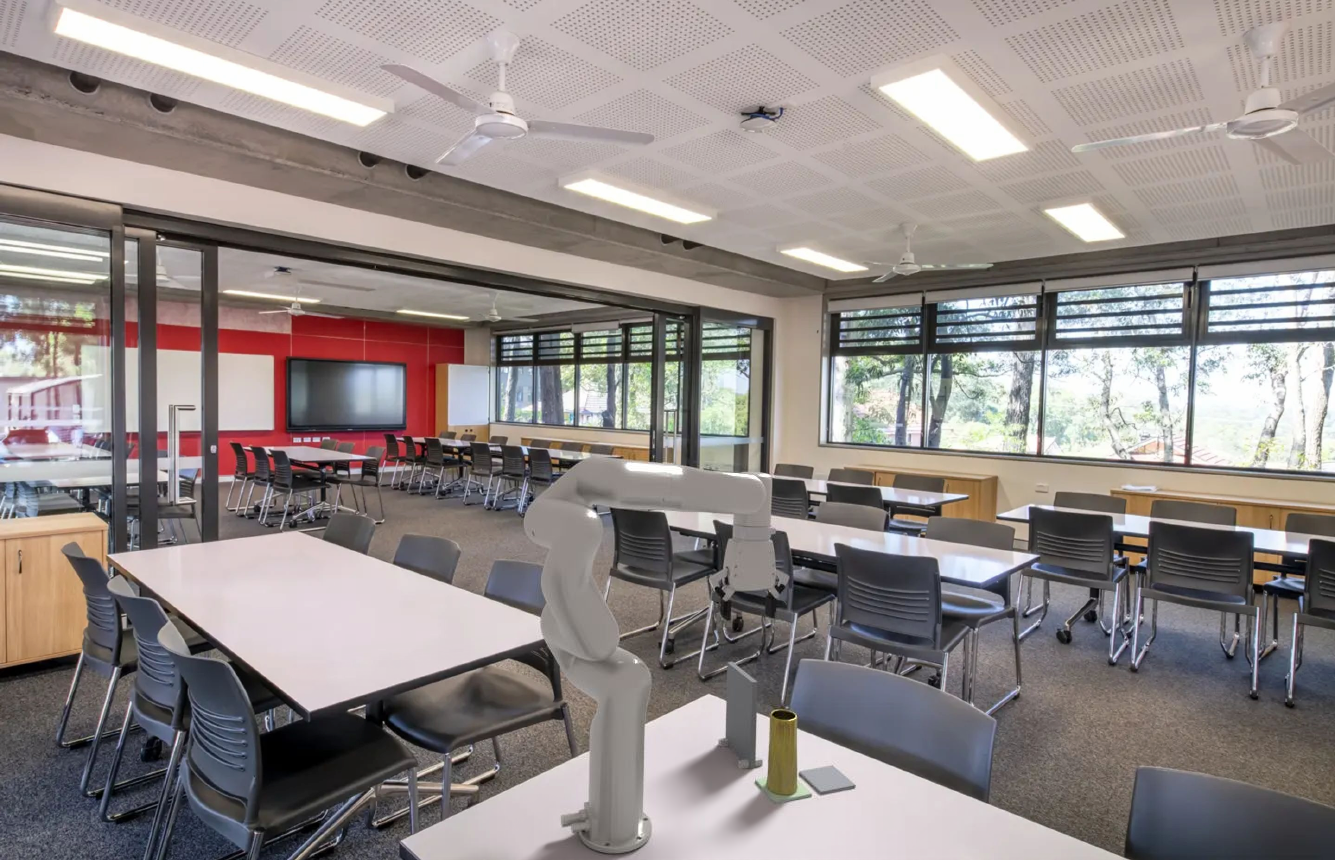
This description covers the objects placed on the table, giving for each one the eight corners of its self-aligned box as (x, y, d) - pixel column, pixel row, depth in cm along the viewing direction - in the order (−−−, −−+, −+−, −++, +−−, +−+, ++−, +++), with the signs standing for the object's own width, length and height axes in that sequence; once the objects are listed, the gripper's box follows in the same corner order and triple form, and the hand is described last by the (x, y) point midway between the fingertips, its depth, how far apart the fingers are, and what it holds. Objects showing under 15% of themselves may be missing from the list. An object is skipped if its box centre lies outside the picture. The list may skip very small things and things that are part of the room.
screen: (741, 769, 142) (744, 683, 142) (717, 743, 153) (719, 662, 153) (763, 765, 144) (765, 680, 144) (737, 739, 155) (739, 660, 155)
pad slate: (820, 794, 134) (820, 791, 134) (799, 773, 141) (799, 771, 141) (855, 787, 136) (855, 784, 136) (832, 767, 144) (832, 765, 144)
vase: (768, 794, 132) (770, 721, 132) (764, 778, 138) (766, 707, 138) (800, 795, 132) (802, 722, 132) (794, 779, 138) (796, 708, 138)
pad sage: (775, 803, 130) (775, 800, 130) (755, 781, 138) (755, 779, 138) (811, 795, 133) (811, 793, 133) (790, 775, 141) (790, 772, 140)
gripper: (781, 529, 146) (778, 610, 146) (704, 530, 140) (701, 614, 141) (798, 535, 139) (795, 620, 139) (718, 537, 133) (715, 625, 134)
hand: (748, 617), depth 140 cm, fingers open, 9 cm apart
